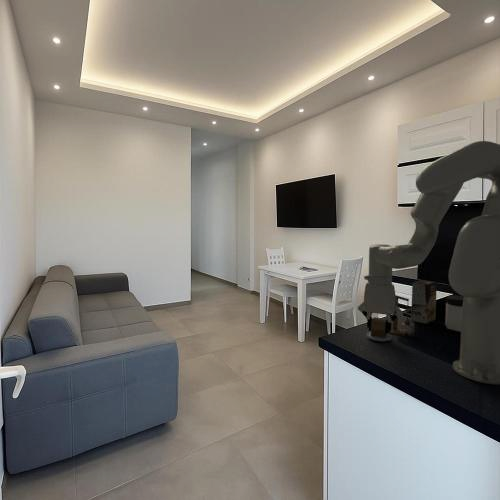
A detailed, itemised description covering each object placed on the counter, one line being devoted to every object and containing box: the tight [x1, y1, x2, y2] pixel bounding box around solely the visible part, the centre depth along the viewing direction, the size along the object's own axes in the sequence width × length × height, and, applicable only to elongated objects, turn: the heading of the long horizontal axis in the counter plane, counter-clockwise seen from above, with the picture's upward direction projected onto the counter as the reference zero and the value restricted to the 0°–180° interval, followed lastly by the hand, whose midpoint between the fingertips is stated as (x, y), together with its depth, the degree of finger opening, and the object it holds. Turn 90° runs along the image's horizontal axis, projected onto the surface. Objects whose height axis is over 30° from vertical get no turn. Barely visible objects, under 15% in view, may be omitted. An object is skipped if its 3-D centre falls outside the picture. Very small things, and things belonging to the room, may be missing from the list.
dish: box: [366, 331, 392, 343], centre depth 110 cm, size 8×8×1 cm
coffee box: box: [410, 279, 438, 325], centre depth 130 cm, size 9×6×16 cm
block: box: [370, 316, 387, 338], centre depth 110 cm, size 4×4×6 cm
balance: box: [388, 294, 414, 337], centre depth 116 cm, size 4×12×15 cm, turn 58°
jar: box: [444, 294, 464, 333], centre depth 120 cm, size 9×8×12 cm
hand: (379, 330), depth 110 cm, fingers open, 5 cm apart
